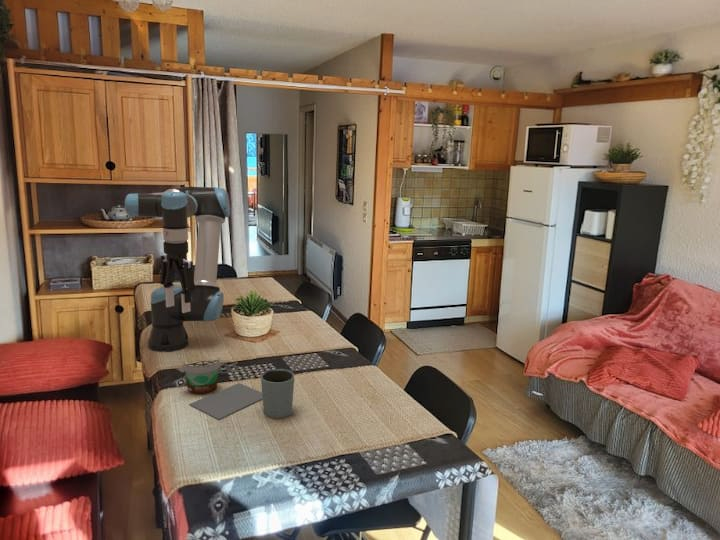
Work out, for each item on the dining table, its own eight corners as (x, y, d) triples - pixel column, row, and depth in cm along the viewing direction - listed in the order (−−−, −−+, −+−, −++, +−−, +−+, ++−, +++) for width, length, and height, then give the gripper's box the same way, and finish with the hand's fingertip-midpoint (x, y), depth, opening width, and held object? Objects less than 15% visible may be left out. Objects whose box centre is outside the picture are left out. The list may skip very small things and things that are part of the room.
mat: (189, 405, 165) (189, 404, 165) (239, 383, 181) (239, 382, 181) (218, 420, 157) (218, 419, 157) (268, 396, 173) (268, 395, 173)
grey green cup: (279, 423, 157) (279, 385, 155) (253, 413, 163) (253, 376, 160) (300, 409, 166) (301, 373, 163) (275, 400, 171) (275, 365, 168)
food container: (186, 399, 169) (185, 369, 167) (182, 391, 174) (181, 362, 172) (225, 392, 175) (224, 363, 172) (220, 384, 180) (220, 356, 178)
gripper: (146, 237, 174) (149, 304, 179) (185, 247, 162) (188, 318, 167) (166, 235, 180) (169, 300, 185) (206, 244, 168) (207, 313, 173)
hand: (178, 308), depth 176 cm, fingers open, 8 cm apart
